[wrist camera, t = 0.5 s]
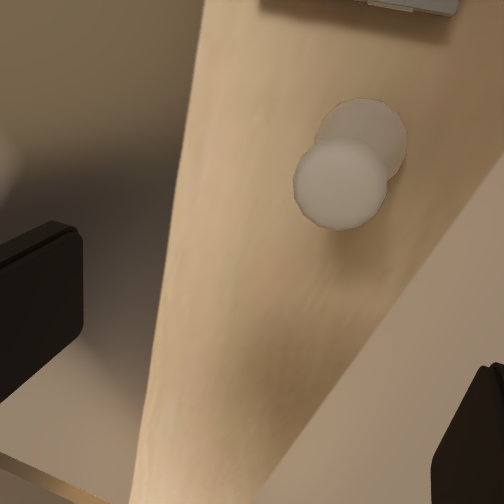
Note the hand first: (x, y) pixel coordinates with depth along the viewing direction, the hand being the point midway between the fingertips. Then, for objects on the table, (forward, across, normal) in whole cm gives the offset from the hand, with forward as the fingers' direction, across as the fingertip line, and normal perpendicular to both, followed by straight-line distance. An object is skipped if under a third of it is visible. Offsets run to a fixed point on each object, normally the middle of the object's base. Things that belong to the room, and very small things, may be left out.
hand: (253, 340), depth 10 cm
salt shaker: (+24, 0, 0) cm, 25 cm away
